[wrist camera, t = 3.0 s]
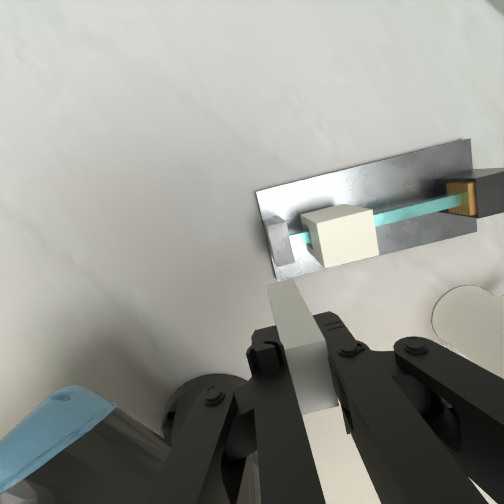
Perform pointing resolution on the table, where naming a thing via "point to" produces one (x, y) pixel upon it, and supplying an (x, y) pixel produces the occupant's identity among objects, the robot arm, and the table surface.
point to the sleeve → (341, 234)
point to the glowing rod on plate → (385, 203)
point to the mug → (473, 325)
